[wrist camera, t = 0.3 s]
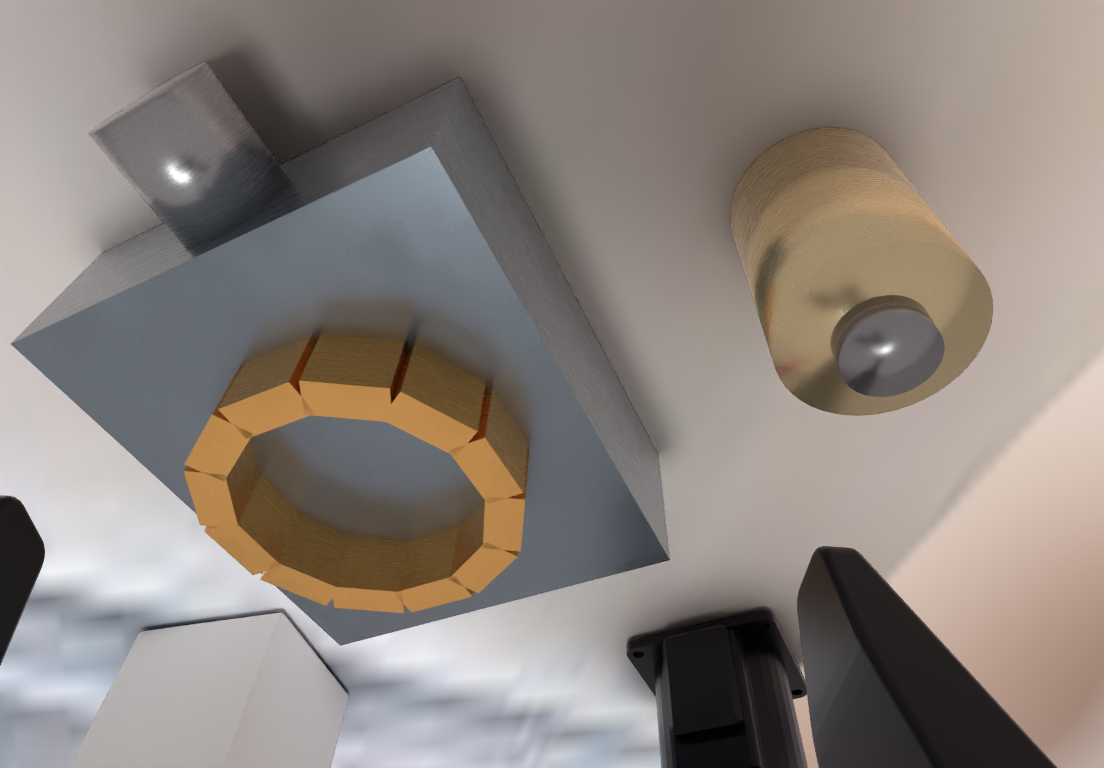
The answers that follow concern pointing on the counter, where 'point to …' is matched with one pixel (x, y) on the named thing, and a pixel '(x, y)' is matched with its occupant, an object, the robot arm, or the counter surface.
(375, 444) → the gearbox
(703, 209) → the counter surface
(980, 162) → the counter surface
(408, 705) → the counter surface
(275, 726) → the milk carton
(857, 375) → the beige cylinder
